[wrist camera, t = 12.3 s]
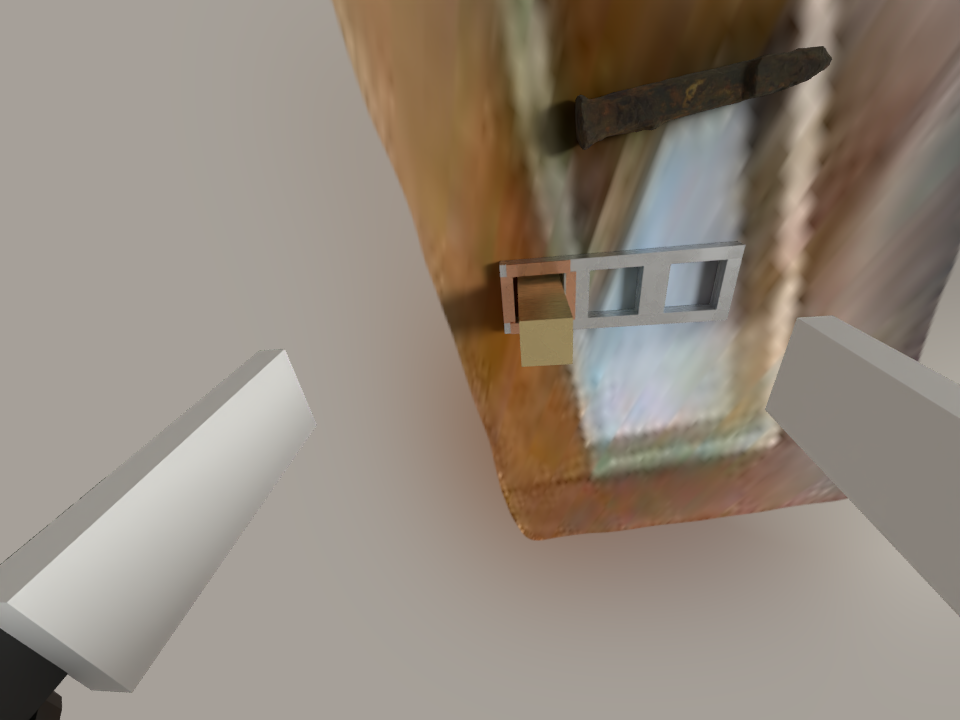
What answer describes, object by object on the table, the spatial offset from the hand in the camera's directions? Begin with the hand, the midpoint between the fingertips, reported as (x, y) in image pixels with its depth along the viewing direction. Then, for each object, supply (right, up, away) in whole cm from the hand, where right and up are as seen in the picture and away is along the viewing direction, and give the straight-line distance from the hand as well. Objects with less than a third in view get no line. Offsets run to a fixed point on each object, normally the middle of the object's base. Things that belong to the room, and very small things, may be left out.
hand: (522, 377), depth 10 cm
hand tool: (+16, +24, +22) cm, 36 cm away
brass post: (+5, +8, +32) cm, 33 cm away
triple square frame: (+13, +8, +31) cm, 35 cm away
